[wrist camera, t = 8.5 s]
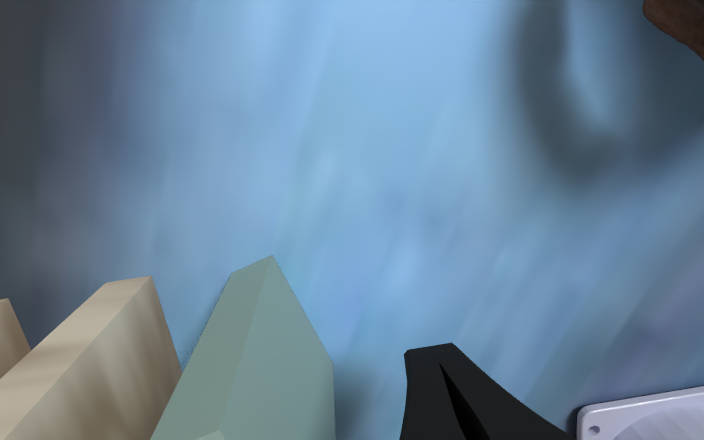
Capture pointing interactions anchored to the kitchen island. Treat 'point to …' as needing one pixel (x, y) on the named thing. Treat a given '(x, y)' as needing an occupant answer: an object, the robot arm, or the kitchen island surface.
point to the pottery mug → (679, 20)
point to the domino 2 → (254, 369)
